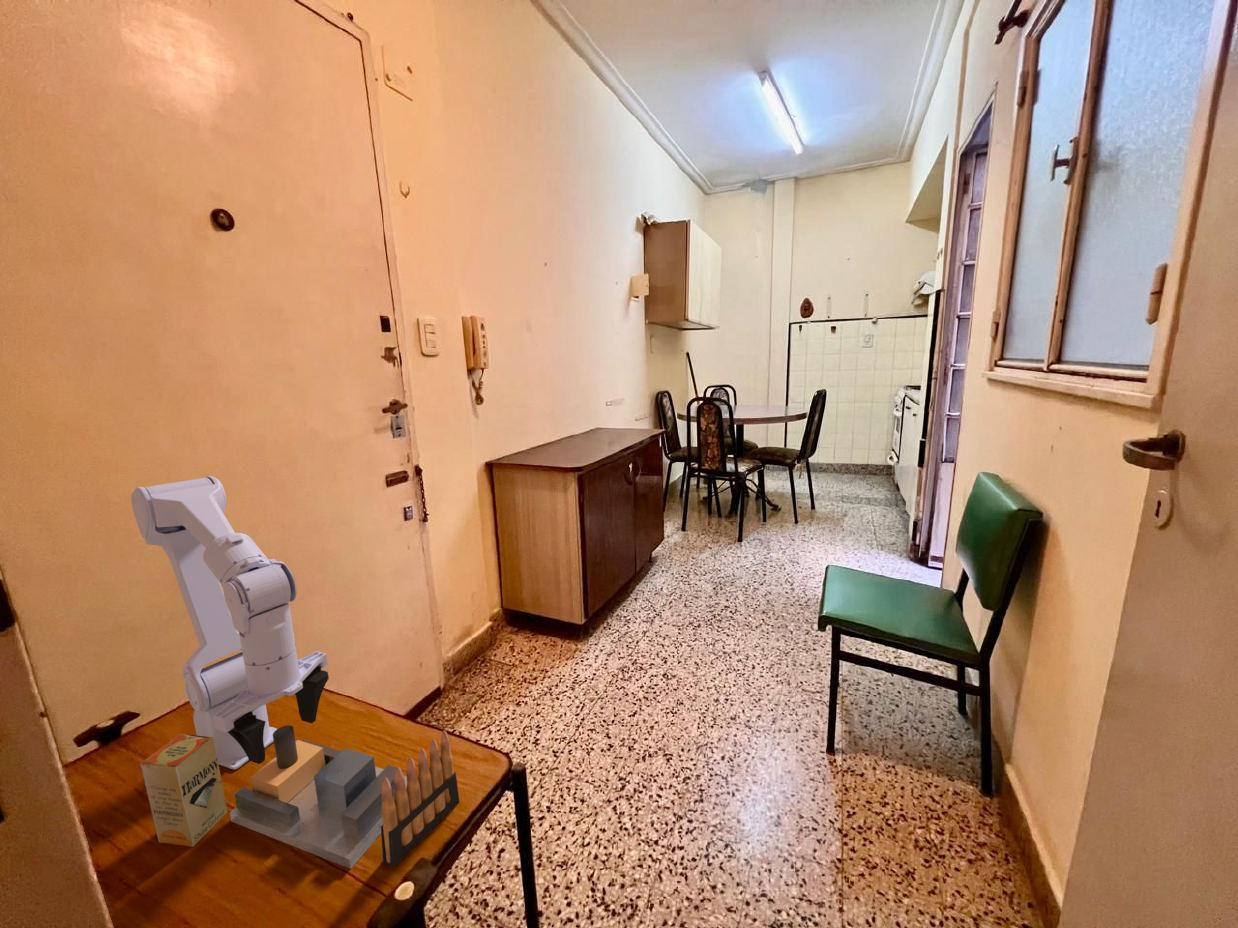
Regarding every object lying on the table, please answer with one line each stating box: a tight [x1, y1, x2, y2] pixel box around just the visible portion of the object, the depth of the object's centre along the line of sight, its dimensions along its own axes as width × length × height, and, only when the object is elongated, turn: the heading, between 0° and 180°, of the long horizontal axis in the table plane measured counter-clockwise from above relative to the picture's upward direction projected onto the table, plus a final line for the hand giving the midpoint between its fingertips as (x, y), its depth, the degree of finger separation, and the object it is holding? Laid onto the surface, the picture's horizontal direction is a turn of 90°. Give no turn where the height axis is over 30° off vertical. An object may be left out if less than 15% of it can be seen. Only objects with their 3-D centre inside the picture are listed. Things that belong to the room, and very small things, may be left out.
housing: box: [314, 747, 376, 822], centre depth 66 cm, size 6×5×6 cm
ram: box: [250, 724, 326, 803], centre depth 68 cm, size 5×7×8 cm
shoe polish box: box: [139, 733, 229, 848], centre depth 63 cm, size 5×5×12 cm
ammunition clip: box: [380, 729, 460, 868], centre depth 63 cm, size 11×2×12 cm, turn 150°
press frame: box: [229, 739, 407, 870], centre depth 67 cm, size 20×12×5 cm, turn 72°
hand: (284, 739), depth 68 cm, fingers open, 7 cm apart
